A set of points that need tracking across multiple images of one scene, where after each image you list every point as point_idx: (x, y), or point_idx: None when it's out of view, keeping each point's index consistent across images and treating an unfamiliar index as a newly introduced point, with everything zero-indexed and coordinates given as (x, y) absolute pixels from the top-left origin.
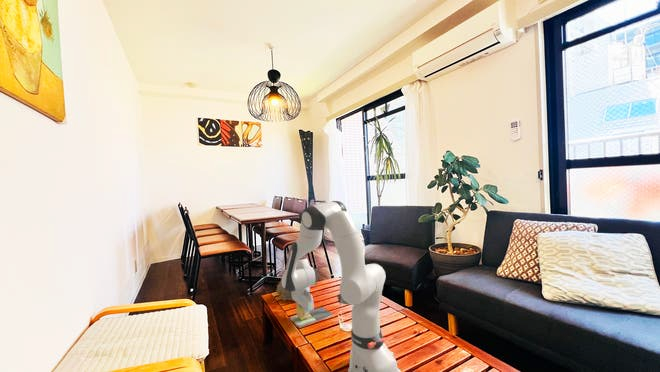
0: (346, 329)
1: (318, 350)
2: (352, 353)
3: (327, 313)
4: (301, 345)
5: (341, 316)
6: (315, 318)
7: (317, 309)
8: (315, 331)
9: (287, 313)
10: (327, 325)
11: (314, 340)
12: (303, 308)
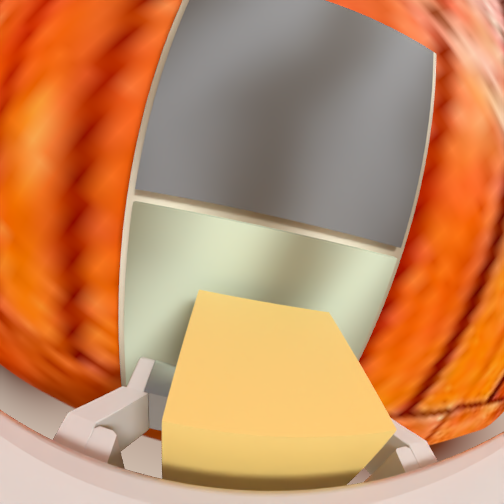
0: None
1: (493, 395)
2: None
3: (390, 59)
4: (428, 438)
5: (467, 44)
6: (369, 239)
7: (201, 47)
8: (449, 347)
9: (33, 330)
10: (484, 230)
11: (468, 386)
12: (335, 482)
